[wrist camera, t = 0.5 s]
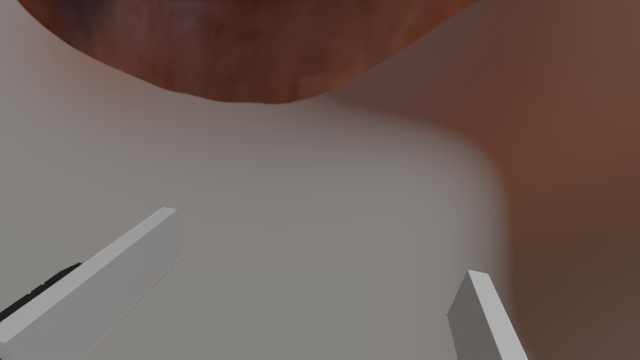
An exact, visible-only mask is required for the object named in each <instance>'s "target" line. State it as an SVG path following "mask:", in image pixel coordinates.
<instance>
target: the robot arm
mask: <svg viewBox="0 0 640 360" xmlns="http://www.w3.org/2000/svg"><path fill="white" fill-rule="evenodd" d="M184 255H185V249H184V243H183V238H182V232H181V227H180V221H179V215H178V210H177V209H173V208H168V207H162V208H160V209H159V210H158V211H156V212H155V213H153V214H152V215H151V216H149V217H148V218H146V219H145V220H144V221H142V222H141V223H140V224H138V225H137V226H135V227H134V228H132V229H131V230H130V231H128V232H127V233H126V234H124V235H123V236H121V237H120V238H118V239H117V240H115V241H114V242H113V243H111V244H110V245H108V246H107V247H106V248H104V249H103V250H102V251H100V252H99V253H97V254H96V255H94V256H93V257H92V258H90V259H89V260H87V261H86V262H84V263H77V264H75V265H73V266H71V267H69V268H67V269H64V270H62V271H60V272H59V273H57V274H56V275H54V276H53V277H52V278H50V279H49V280H47V281H46V282H45V283H44V284H43V285H40V286H39V287H37V288H35V289H34V290H33V291H31V293H30V294H27V295H25V296H24V297H22V298H21V299H19V300H18V301H17V302H15V303H14V304H12V305H11V306H9V307H8V308H6V309H5V310H4V311H2V312H1V313H0V360H83V359H84V357H86V355H88V353H90V351H91V350H92V349H93V348H94V347H95V346H96V345H97V344H98V343H99V342H100V341H101V340H102V339H103V338H104V337H105V336H106V335H107V334H108V333H109V332H110V331H111V330H112V329H113V328H114V327H115V326H116V325H117V324H118V323H119V322H120V321H121V320H122V319H123V317H124V316H125V315H126V314H127V313H128V312H129V311H130V310H131V309H132V308H133V307H134V306H135V305H136V304H137V303H138V302H139V301H140V300H141V299H142V298H143V297H144V296H145V295H146V294H147V293H148V292H149V291H150V290H151V289H152V288H153V287H154V286H155V284H157V282H158V281H159V280H160V279H161V278H162V277H163V276H164V275H165V274H166V273H167V272H168V271H169V270H170V269H171V268H172V267H173V266H174V265H175V264H176V263H177V262H178V261H179V260H180V259H181V257H183V256H184ZM447 315H448V320H449V324H450V328H451V332H452V336H453V341H454V345H455V349H456V353H457V357H458V360H528V359H527V357H526V354H525V352H524V350H523V348H522V346H521V344H520V342H519V339H518V338H517V335H516V333H515V331H514V329H513V327H512V325H511V323H510V320H509V318H508V316H507V314H506V312H505V310H504V307H503V305H502V303H501V301H500V299H499V297H498V295H497V293H496V291H495V288H494V286H493V284H492V282H491V280H490V278H489V275H488V274H486V273H480V272H476V271H471V270H467V273H466V275H465V277H464V279H463V281H462V283H461V286H460V288H459V290H458V292H457V294H456V297H455V299H454V301H453V303H452V306H451V308H450V310H449V312H448V314H447Z"/></svg>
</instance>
